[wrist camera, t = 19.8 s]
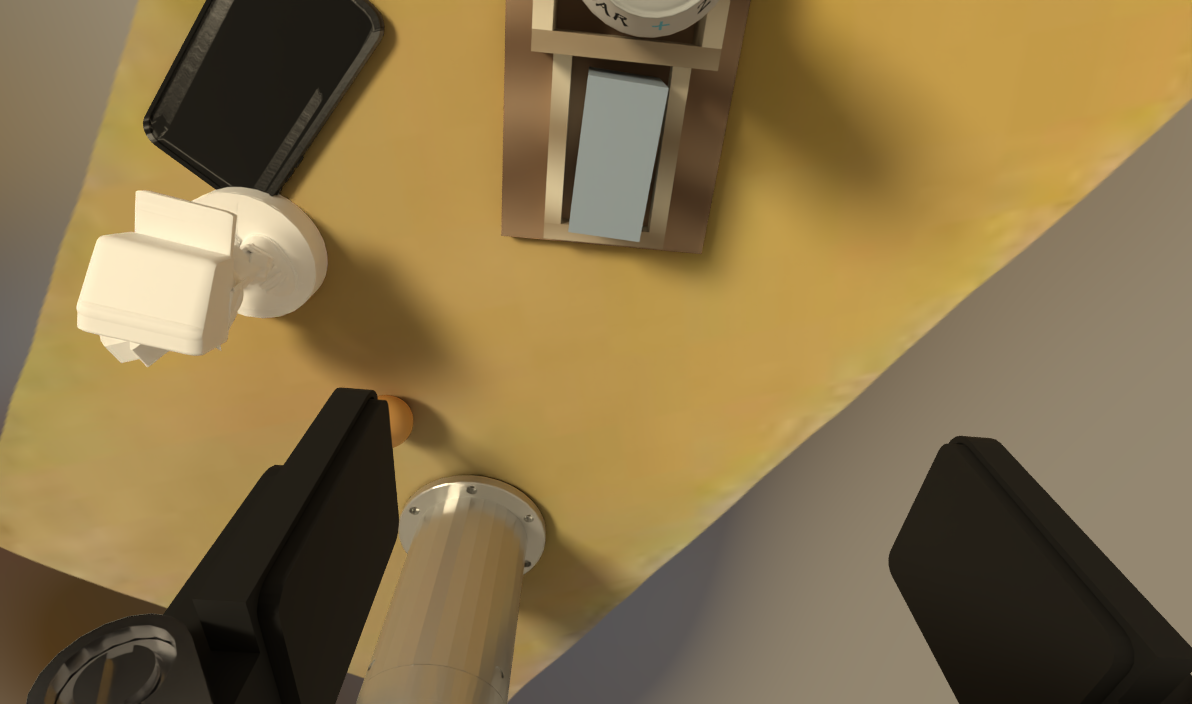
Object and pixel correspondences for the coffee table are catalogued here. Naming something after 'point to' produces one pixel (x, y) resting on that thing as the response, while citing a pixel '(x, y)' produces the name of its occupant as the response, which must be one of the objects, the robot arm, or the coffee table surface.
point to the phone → (259, 86)
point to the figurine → (398, 419)
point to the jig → (556, 102)
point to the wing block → (616, 153)
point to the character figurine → (198, 271)
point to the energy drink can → (650, 15)
